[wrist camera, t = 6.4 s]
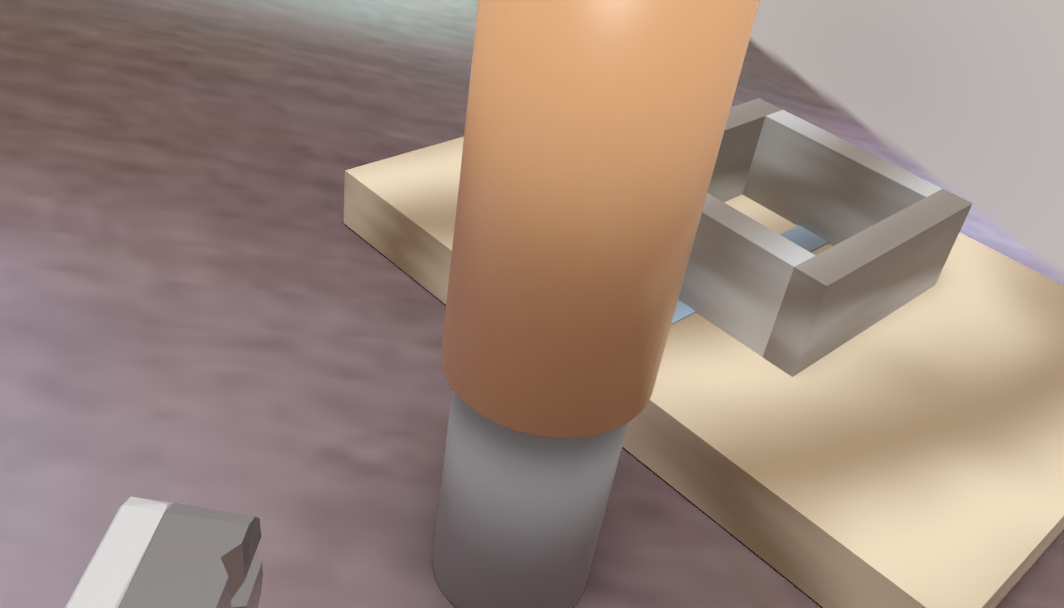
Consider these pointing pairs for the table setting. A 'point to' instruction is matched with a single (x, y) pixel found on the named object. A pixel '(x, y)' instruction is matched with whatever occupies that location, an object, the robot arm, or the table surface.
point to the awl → (568, 270)
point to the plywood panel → (826, 366)
